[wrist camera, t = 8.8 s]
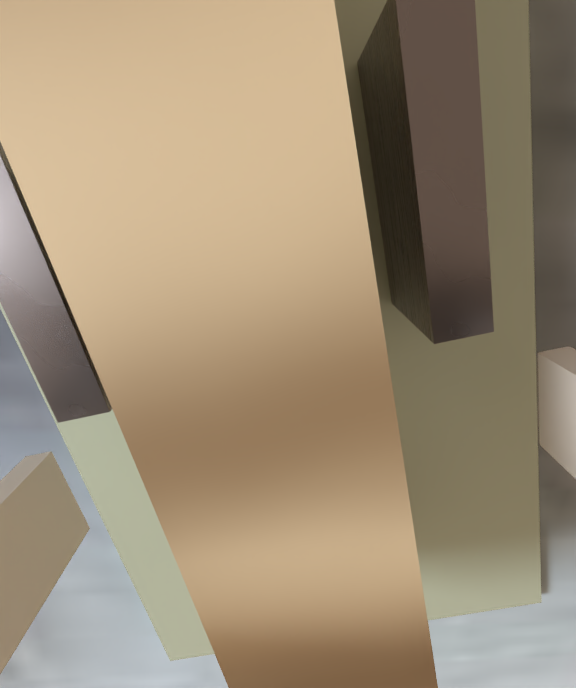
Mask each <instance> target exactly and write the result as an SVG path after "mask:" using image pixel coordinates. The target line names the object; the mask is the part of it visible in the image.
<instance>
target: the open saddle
mask: <svg viewBox="0 0 576 688" xmlns="http://www.w3.org/2000/svg"><path fill="white" fill-rule="evenodd" d="M357 66H358V73H359V80H360V87H361V94H362V101H363V108H364V115H365V122H366V128H367V135H368V142H369V149H370V156H371V163H372V170H373V177H374V184H375V191H376V198H377V205H378V212H379V219H380V226H381V232H382V239H383V246H384V253H385V260H386V267H387V274H388V281H389V288H390V295H391V302H392V304H393V305H394V306H395V307H396V308H397V309H398V310H399V311H400V312H401V313H402V314H403V315H404V316H405V317H406V318H407V319H408V320H409V321H410V322H412V323H413V324H414V325H415V326H416V327H417V328H418V329H419V330H420V331H421V332H422V333H423V334H424V335H425V336H426V337H427V338H428V339H429V340H430V341H431V342H432V343H433V344H438V343H443V342H447V341H452V340H457V339H462V338H466V337H471V336H476V335H481V334H486V333H490V332H494V322H493V304H492V287H491V270H490V252H489V235H488V218H487V200H486V183H485V166H484V149H483V131H482V114H481V97H480V79H479V62H478V45H477V27H476V10H475V0H387V2H386V4H385V6H384V8H383V10H382V12H381V14H380V16H379V18H378V20H377V23H376V25H375V27H374V29H373V31H372V33H371V35H370V37H369V39H368V41H367V43H366V45H365V47H364V49H363V51H362V53H361V55H360V58H359V60H358V62H357ZM0 303H1V305H2V307H3V309H4V311H5V313H6V316H7V318H8V320H9V322H10V324H11V326H12V328H13V330H14V332H15V334H16V336H17V338H18V341H19V343H20V345H21V347H22V349H23V351H24V353H25V355H26V357H27V359H28V361H29V363H30V366H31V368H32V370H33V372H34V374H35V376H36V378H37V380H38V382H39V384H40V386H41V388H42V391H43V393H44V395H45V397H46V399H47V401H48V403H49V405H50V407H51V409H52V411H53V413H54V416H55V418H56V420H57V422H58V423H59V422H64V421H69V420H74V419H79V418H83V417H88V416H93V415H98V414H103V413H107V412H110V411H111V410H112V407H111V405H110V402H109V400H108V397H107V395H106V393H105V390H104V388H103V386H102V383H101V381H100V378H99V376H98V374H97V371H96V369H95V366H94V364H93V362H92V359H91V357H90V354H89V352H88V350H87V347H86V345H85V343H84V340H83V338H82V335H81V333H80V331H79V328H78V326H77V323H76V321H75V319H74V316H73V314H72V311H71V309H70V307H69V304H68V302H67V299H66V297H65V295H64V292H63V290H62V288H61V285H60V283H59V280H58V278H57V276H56V273H55V271H54V268H53V266H52V264H51V261H50V259H49V256H48V254H47V252H46V249H45V247H44V245H43V242H42V240H41V237H40V235H39V233H38V230H37V228H36V225H35V223H34V221H33V218H32V216H31V213H30V211H29V209H28V206H27V204H26V202H25V199H24V197H23V194H22V192H21V190H20V187H19V185H18V182H17V180H16V178H15V175H14V173H13V170H12V168H11V166H10V163H9V161H8V158H7V156H6V154H5V151H4V149H3V147H2V144H1V142H0Z"/></svg>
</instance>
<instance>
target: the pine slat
mask: <svg viewBox="0 0 576 688" xmlns="http://www.w3.org/2000/svg"><path fill="white" fill-rule="evenodd" d="M0 142H1V144H2V147H3V149H4V151H5V154H6V156H7V158H8V161H9V163H10V166H11V168H12V170H13V173H14V175H15V178H16V180H17V182H18V185H19V187H20V190H21V192H22V194H23V197H24V199H25V202H26V204H27V206H28V209H29V211H30V213H31V216H32V218H33V221H34V223H35V225H36V228H37V230H38V233H39V235H40V237H41V240H42V242H43V245H44V247H45V249H46V252H47V254H48V256H49V259H50V261H51V264H52V266H53V268H54V271H55V273H56V276H57V278H58V280H59V283H60V285H61V288H62V290H63V292H64V295H65V297H66V299H67V302H68V304H69V307H70V309H71V311H72V314H73V316H74V319H75V321H76V323H77V326H78V328H79V331H80V333H81V335H82V338H83V340H84V343H85V345H86V347H87V350H88V352H89V354H90V357H91V359H92V362H93V364H94V366H95V369H96V371H97V374H98V376H99V378H100V381H101V383H102V386H103V388H104V390H105V393H106V395H107V397H108V400H109V402H110V405H111V407H112V409H113V412H114V414H115V417H116V419H117V421H118V424H119V426H120V429H121V431H122V433H123V436H124V438H125V441H126V443H127V445H128V448H129V450H130V452H131V455H132V457H133V460H134V462H135V464H136V467H137V469H138V472H139V474H140V476H141V479H142V481H143V484H144V486H145V488H146V491H147V493H148V495H149V498H150V500H151V503H152V505H153V507H154V510H155V512H156V515H157V517H158V519H159V522H160V524H161V527H162V529H163V531H164V534H165V536H166V538H167V541H168V543H169V546H170V548H171V550H172V553H173V555H174V558H175V560H176V562H177V565H178V567H179V570H180V572H181V574H182V577H183V579H184V582H185V584H186V586H187V589H188V591H189V593H190V596H191V598H192V601H193V603H194V605H195V608H196V610H197V613H198V615H199V617H200V620H201V622H202V625H203V627H204V629H205V632H206V634H207V636H208V639H209V641H210V644H211V646H212V648H213V651H214V653H215V656H216V658H217V660H218V663H219V665H220V668H221V670H222V672H223V675H224V677H225V680H226V682H227V684H228V687H229V688H438V686H437V679H436V672H435V666H434V659H433V653H432V646H431V639H430V633H429V626H428V619H427V613H426V606H425V599H424V593H423V586H422V580H421V573H420V566H419V560H418V553H417V546H416V540H415V533H414V526H413V520H412V513H411V507H410V500H409V493H408V487H407V480H406V473H405V467H404V460H403V453H402V447H401V440H400V434H399V427H398V420H397V414H396V407H395V400H394V394H393V387H392V380H391V374H390V367H389V361H388V354H387V347H386V341H385V334H384V327H383V321H382V314H381V307H380V301H379V294H378V288H377V281H376V274H375V268H374V261H373V254H372V248H371V241H370V234H369V228H368V221H367V215H366V208H365V201H364V195H363V188H362V181H361V175H360V168H359V161H358V155H357V148H356V142H355V135H354V128H353V122H352V115H351V108H350V102H349V95H348V88H347V82H346V75H345V69H344V62H343V55H342V49H341V42H340V35H339V29H338V22H337V15H336V9H335V2H334V0H0Z"/></svg>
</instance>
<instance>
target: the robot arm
mask: <svg viewBox="0 0 576 688" xmlns="http://www.w3.org/2000/svg"><path fill="white" fill-rule="evenodd" d="M538 402H539V445H540V446H542V447H543V448H544V449H545V450H546V451H547V452H548V453H549V454H550V455H551V456H552V457H553V458H554V459H555V460H556V461H557V462H558V463H559V464H560V465H561V466H562V467H563V468H565V469H566V470H567V471H568V472H569V473H570V474H571V475H572V476H573V477H574V478H575V479H576V349H574V348H572V347H570V346H567V347H562V348H557V349H552V350H547V351H542V352H538ZM89 529H90V528H89V526H88V524H87V522H86V520H85V518H84V516H83V514H82V512H81V510H80V508H79V506H78V504H77V502H76V500H75V498H74V496H73V494H72V492H71V490H70V488H69V486H68V484H67V482H66V480H65V478H64V476H63V474H62V472H61V470H60V468H59V466H58V464H57V462H56V460H55V458H54V456H53V454H52V452H46V453H41V454H36V455H31V456H26V457H25V458H24V459H23V460H22V461H21V462H20V463H18V464H17V465H16V466H15V467H14V468H13V469H12V470H11V471H10V472H9V473H8V474H7V475H6V476H5V477H4V478H3V479H2V480H1V481H0V674H1V672H2V671H3V669H4V668H5V666H6V664H7V663H8V661H9V659H10V658H11V656H12V654H13V653H14V651H15V650H16V648H17V646H18V645H19V643H20V641H21V640H22V638H23V636H24V635H25V633H26V632H27V630H28V628H29V627H30V625H31V623H32V622H33V620H34V618H35V617H36V615H37V614H38V612H39V610H40V609H41V607H42V605H43V604H44V602H45V601H46V599H47V597H48V596H49V594H50V592H51V591H52V589H53V587H54V586H55V584H56V583H57V581H58V579H59V578H60V576H61V574H62V573H63V571H64V569H65V568H66V566H67V565H68V563H69V561H70V560H71V558H72V556H73V555H74V553H75V552H76V550H77V548H78V547H79V545H80V543H81V542H82V540H83V538H84V537H85V535H86V534H87V532H88V530H89Z"/></svg>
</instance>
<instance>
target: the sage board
mask: <svg viewBox="0 0 576 688" xmlns="http://www.w3.org/2000/svg"><path fill="white" fill-rule="evenodd" d="M334 2H335V9H336V15H337V22H338V29H339V35H340V42H341V49H342V55H343V62H344V69H345V75H346V82H347V88H348V95H349V102H350V108H351V115H352V122H353V128H354V135H355V142H356V148H357V155H358V161H359V168H360V175H361V181H362V188H363V195H364V201H365V208H366V215H367V221H368V228H369V234H370V241H371V248H372V254H373V261H374V268H375V274H376V281H377V288H378V294H379V301H380V307H381V314H382V321H383V327H384V334H385V341H386V347H387V354H388V361H389V367H390V374H391V380H392V387H393V394H394V400H395V407H396V414H397V420H398V427H399V434H400V440H401V447H402V453H403V460H404V467H405V473H406V480H407V487H408V493H409V500H410V507H411V513H412V520H413V526H414V533H415V540H416V546H417V553H418V560H419V566H420V573H421V580H422V586H423V593H424V599H425V606H426V613H427V619H428V620H433V619H439V618H446V617H452V616H458V615H465V614H471V613H478V612H484V611H490V610H497V609H503V608H509V607H516V606H522V605H528V604H535V603H541V561H540V514H539V467H538V419H537V372H536V325H535V277H534V230H533V183H532V135H531V88H530V41H529V0H475V10H476V27H477V45H478V62H479V79H480V97H481V114H482V131H483V149H484V166H485V183H486V200H487V218H488V235H489V252H490V270H491V287H492V304H493V322H494V332H490V333H486V334H481V335H476V336H471V337H466V338H462V339H457V340H452V341H447V342H443V343H438V344H433V343H432V342H431V341H430V340H429V339H428V338H427V337H426V336H425V335H424V334H423V333H422V332H421V331H420V330H419V329H418V328H417V327H416V326H415V325H414V324H413V323H412V322H410V321H409V320H408V319H407V318H406V317H405V316H404V315H403V314H402V313H401V312H400V311H399V310H398V309H397V308H396V307H395V306H394V305H393V304H392V302H391V295H390V288H389V281H388V274H387V267H386V260H385V253H384V246H383V239H382V232H381V226H380V219H379V212H378V205H377V198H376V191H375V184H374V177H373V170H372V163H371V156H370V149H369V142H368V135H367V128H366V122H365V115H364V108H363V101H362V94H361V87H360V80H359V73H358V66H357V62H358V60H359V58H360V55H361V53H362V51H363V49H364V47H365V45H366V43H367V41H368V39H369V37H370V35H371V33H372V31H373V29H374V27H375V25H376V23H377V20H378V18H379V16H380V14H381V12H382V10H383V8H384V6H385V4H386V2H387V0H334ZM0 309H1V311H2V313H3V315H4V317H5V319H6V321H7V323H8V325H9V327H10V329H11V332H12V334H13V336H14V338H15V340H16V342H17V344H18V346H19V348H20V350H21V352H22V354H23V356H24V359H25V361H26V363H27V365H28V367H29V369H30V371H31V373H32V375H33V377H34V379H35V381H36V383H37V385H38V388H39V390H40V392H41V394H42V396H43V398H44V400H45V402H46V404H47V406H48V408H49V410H50V412H51V414H52V417H53V419H54V421H55V423H56V425H57V427H58V429H59V431H60V433H61V435H62V437H63V439H64V441H65V443H66V446H67V448H68V450H69V452H70V454H71V456H72V458H73V460H74V462H75V464H76V466H77V468H78V470H79V473H80V475H81V477H82V479H83V481H84V483H85V485H86V487H87V489H88V491H89V493H90V495H91V497H92V499H93V502H94V504H95V506H96V508H97V510H98V512H99V514H100V516H101V518H102V520H103V522H104V524H105V526H106V528H107V531H108V533H109V535H110V537H111V539H112V541H113V543H114V545H115V547H116V549H117V551H118V553H119V555H120V558H121V560H122V562H123V564H124V566H125V568H126V570H127V572H128V574H129V576H130V578H131V580H132V582H133V584H134V587H135V589H136V591H137V593H138V595H139V597H140V599H141V601H142V603H143V605H144V607H145V609H146V611H147V613H148V616H149V618H150V620H151V622H152V624H153V626H154V628H155V630H156V632H157V634H158V636H159V638H160V640H161V643H162V645H163V647H164V649H165V651H166V653H167V655H168V657H169V659H170V661H172V660H179V659H185V658H191V657H198V656H204V655H210V654H215V653H214V651H213V648H212V646H211V644H210V641H209V639H208V636H207V634H206V632H205V629H204V627H203V625H202V622H201V620H200V617H199V615H198V613H197V610H196V608H195V605H194V603H193V601H192V598H191V596H190V593H189V591H188V589H187V586H186V584H185V582H184V579H183V577H182V574H181V572H180V570H179V567H178V565H177V562H176V560H175V558H174V555H173V553H172V550H171V548H170V546H169V543H168V541H167V538H166V536H165V534H164V531H163V529H162V527H161V524H160V522H159V519H158V517H157V515H156V512H155V510H154V507H153V505H152V503H151V500H150V498H149V495H148V493H147V491H146V488H145V486H144V484H143V481H142V479H141V476H140V474H139V472H138V469H137V467H136V464H135V462H134V460H133V457H132V455H131V452H130V450H129V448H128V445H127V443H126V441H125V438H124V436H123V433H122V431H121V429H120V426H119V424H118V421H117V419H116V417H115V414H114V412H113V409H112V410H111V411H110V412H107V413H103V414H98V415H93V416H88V417H83V418H79V419H74V420H69V421H64V422H59V423H58V422H57V420H56V418H55V416H54V413H53V411H52V409H51V407H50V405H49V403H48V401H47V399H46V397H45V395H44V393H43V391H42V388H41V386H40V384H39V382H38V380H37V378H36V376H35V374H34V372H33V370H32V368H31V366H30V363H29V361H28V359H27V357H26V355H25V353H24V351H23V349H22V347H21V345H20V343H19V341H18V338H17V336H16V334H15V332H14V330H13V328H12V326H11V324H10V322H9V320H8V318H7V316H6V313H5V311H4V309H3V307H2V305H1V303H0Z"/></svg>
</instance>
